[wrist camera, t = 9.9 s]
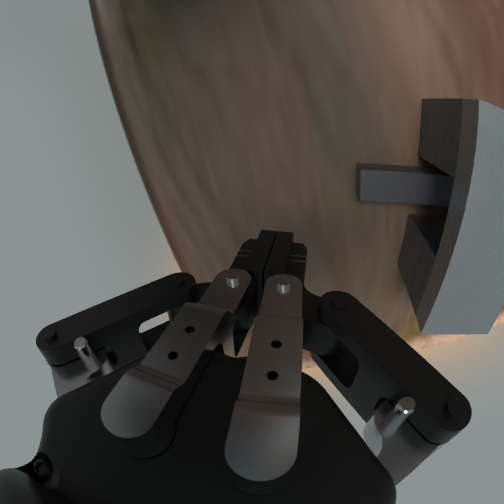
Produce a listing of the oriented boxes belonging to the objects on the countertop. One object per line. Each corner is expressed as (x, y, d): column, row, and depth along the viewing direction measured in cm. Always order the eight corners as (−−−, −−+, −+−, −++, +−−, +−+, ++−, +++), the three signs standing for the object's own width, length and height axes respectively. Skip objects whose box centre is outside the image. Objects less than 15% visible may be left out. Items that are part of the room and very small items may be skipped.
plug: (356, 156, 25) (365, 168, 20) (516, 175, 20) (544, 192, 15) (356, 198, 27) (363, 221, 22) (510, 210, 22) (536, 232, 17)
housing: (422, 98, 20) (479, 99, 10) (484, 117, 19) (551, 134, 9) (397, 262, 29) (420, 333, 20) (453, 268, 28) (487, 333, 18)
